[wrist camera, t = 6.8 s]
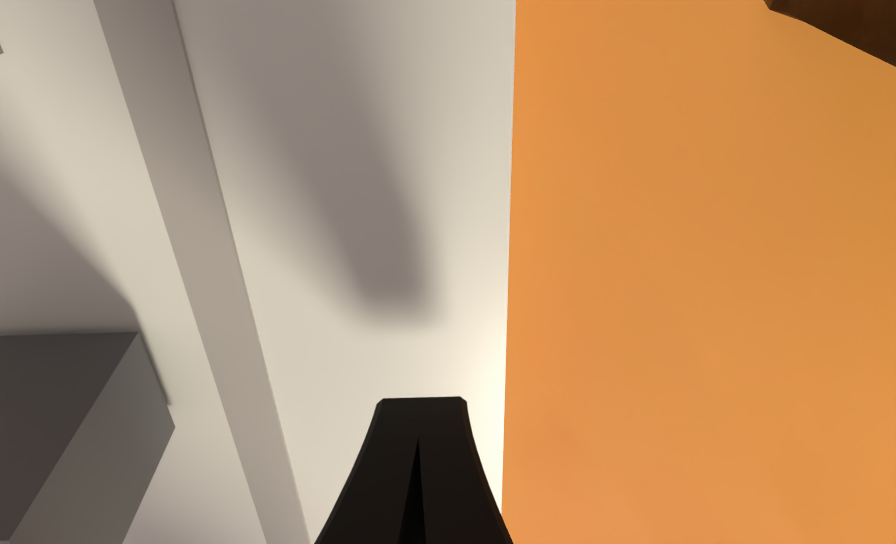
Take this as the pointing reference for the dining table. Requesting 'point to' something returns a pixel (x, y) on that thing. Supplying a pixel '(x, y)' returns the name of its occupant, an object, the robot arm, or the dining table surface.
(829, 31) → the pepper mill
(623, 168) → the dining table surface
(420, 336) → the breaker board
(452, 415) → the robot arm
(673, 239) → the dining table surface
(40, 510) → the dark gray block
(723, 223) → the dining table surface
